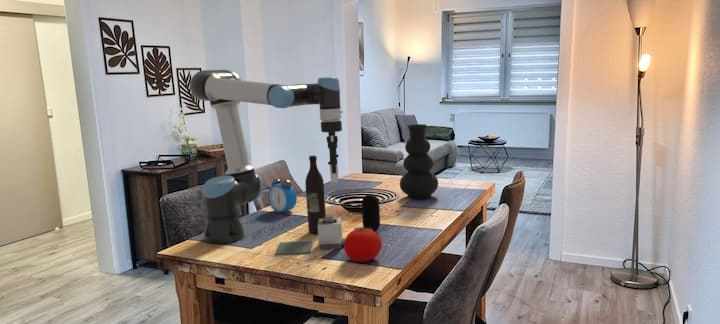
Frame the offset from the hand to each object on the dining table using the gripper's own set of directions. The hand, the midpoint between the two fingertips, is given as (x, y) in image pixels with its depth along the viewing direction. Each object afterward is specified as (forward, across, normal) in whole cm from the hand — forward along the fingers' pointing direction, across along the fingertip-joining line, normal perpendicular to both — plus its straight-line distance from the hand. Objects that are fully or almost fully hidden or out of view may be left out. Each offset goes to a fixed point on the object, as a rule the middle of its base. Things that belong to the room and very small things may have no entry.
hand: (334, 178), depth 186 cm
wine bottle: (+23, +10, +8) cm, 26 cm away
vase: (+23, +55, -40) cm, 71 cm away
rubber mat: (+22, -9, +16) cm, 29 cm away
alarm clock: (+23, +44, +24) cm, 55 cm away
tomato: (+23, -25, -8) cm, 35 cm away
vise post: (+23, -9, -3) cm, 25 cm away
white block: (+21, -9, +3) cm, 23 cm away
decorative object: (+23, +4, -13) cm, 26 cm away
